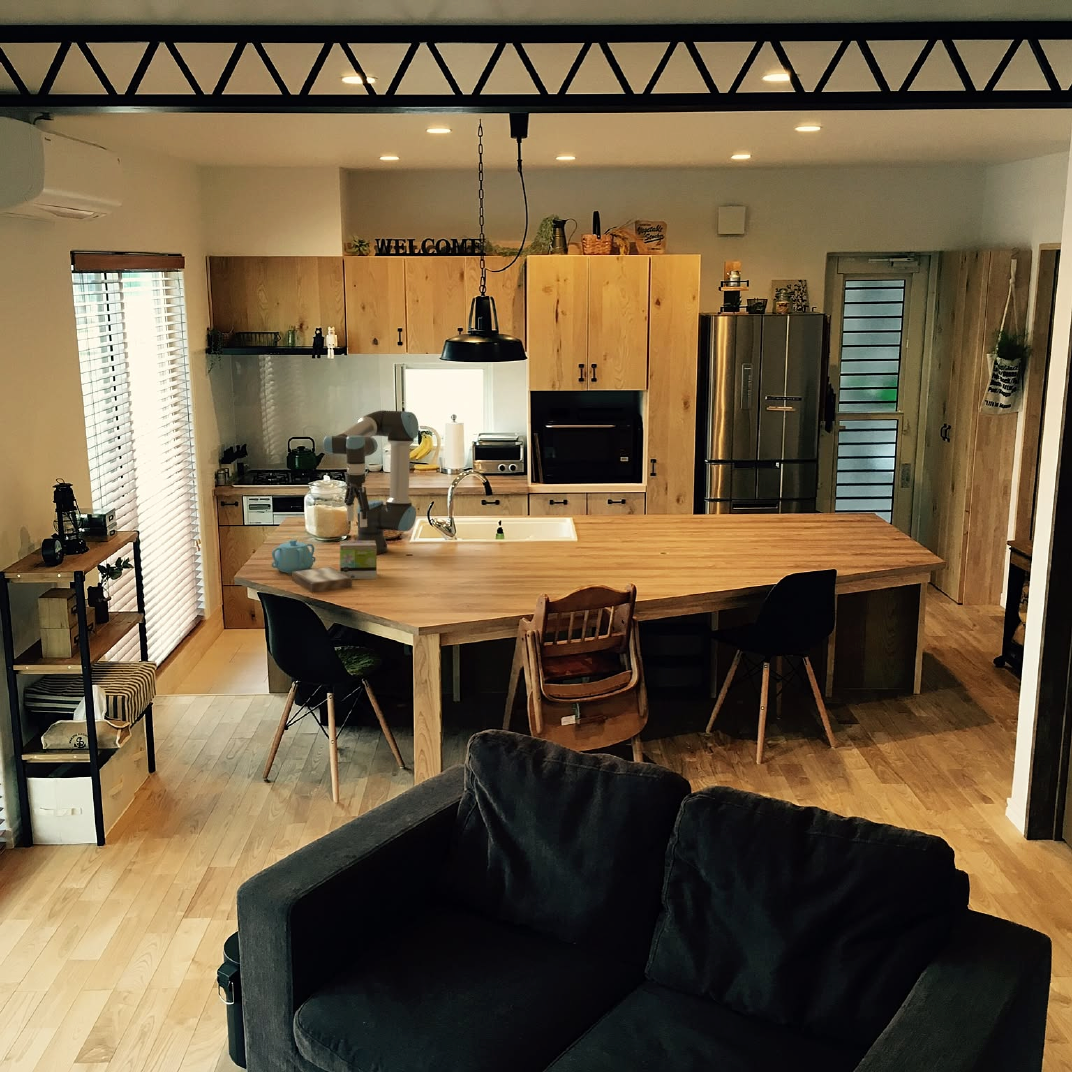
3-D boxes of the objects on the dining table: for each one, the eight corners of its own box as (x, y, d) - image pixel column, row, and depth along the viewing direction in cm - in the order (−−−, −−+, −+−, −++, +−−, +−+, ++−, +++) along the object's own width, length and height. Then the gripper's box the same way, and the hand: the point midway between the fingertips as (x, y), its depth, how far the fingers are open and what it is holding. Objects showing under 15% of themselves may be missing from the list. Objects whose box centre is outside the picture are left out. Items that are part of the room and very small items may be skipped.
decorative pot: (302, 577, 476) (301, 545, 473) (267, 574, 481) (266, 542, 478) (319, 568, 492) (319, 537, 489) (286, 565, 496) (285, 534, 493)
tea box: (340, 580, 472) (339, 545, 469) (339, 574, 482) (339, 540, 479) (377, 579, 475) (376, 544, 472) (375, 573, 485) (375, 539, 482)
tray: (330, 575, 479) (330, 566, 479) (351, 587, 461) (351, 578, 460) (292, 580, 470) (291, 571, 470) (312, 593, 452) (311, 583, 451)
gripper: (335, 469, 477) (336, 519, 482) (359, 478, 457) (360, 530, 461) (352, 468, 481) (353, 517, 486) (377, 477, 461) (377, 528, 465)
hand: (356, 523), depth 474 cm, fingers open, 13 cm apart
